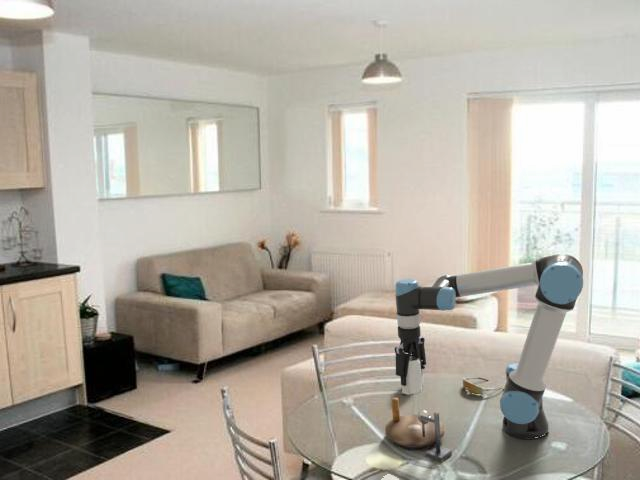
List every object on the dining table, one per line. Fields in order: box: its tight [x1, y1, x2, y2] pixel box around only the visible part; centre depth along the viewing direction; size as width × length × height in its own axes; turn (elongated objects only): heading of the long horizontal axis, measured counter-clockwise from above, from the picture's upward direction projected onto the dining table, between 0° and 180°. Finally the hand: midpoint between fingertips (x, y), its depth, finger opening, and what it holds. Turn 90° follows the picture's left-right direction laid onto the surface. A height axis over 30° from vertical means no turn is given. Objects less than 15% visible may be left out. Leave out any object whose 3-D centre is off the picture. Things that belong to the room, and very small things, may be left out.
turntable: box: [384, 397, 445, 446], centre depth 222 cm, size 20×20×10 cm
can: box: [407, 354, 423, 395], centre depth 221 cm, size 6×6×12 cm
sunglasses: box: [462, 377, 503, 396], centre depth 259 cm, size 14×15×5 cm
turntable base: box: [391, 441, 436, 451], centre depth 223 cm, size 16×16×2 cm
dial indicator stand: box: [417, 409, 453, 463], centre depth 211 cm, size 10×6×14 cm, turn 46°
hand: (412, 390), depth 222 cm, fingers closed on can, 6 cm apart
